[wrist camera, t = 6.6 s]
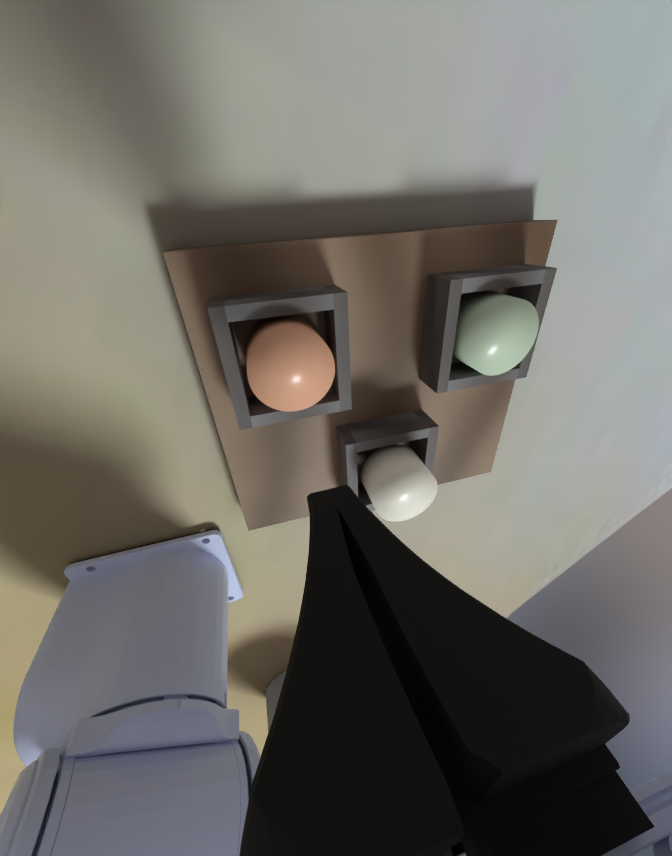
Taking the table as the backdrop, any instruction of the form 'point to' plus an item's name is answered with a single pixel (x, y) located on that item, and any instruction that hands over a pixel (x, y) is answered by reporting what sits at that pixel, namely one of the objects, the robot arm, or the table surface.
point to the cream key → (398, 482)
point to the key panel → (357, 352)
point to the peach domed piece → (288, 363)
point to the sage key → (494, 331)
